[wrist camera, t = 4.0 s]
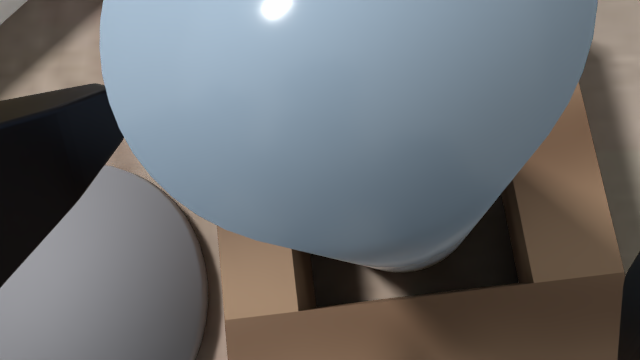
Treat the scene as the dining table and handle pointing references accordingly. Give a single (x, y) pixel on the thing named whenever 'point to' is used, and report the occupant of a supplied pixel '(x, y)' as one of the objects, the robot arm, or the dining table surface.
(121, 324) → the coaster
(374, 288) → the dining table surface
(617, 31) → the dining table surface
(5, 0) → the decorative still life
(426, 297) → the pocket block
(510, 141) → the pale blue cylinder
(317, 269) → the dining table surface
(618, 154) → the dining table surface
